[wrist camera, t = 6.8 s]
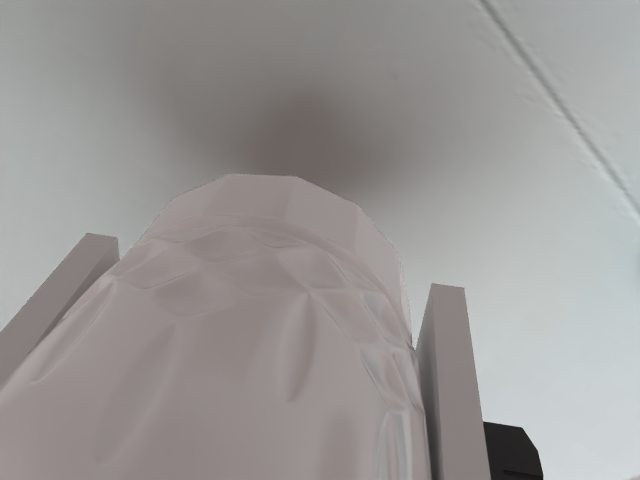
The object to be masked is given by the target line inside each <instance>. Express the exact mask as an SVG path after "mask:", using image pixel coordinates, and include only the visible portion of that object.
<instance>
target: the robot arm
mask: <svg viewBox="0 0 640 480" xmlns="http://www.w3.org/2000/svg"><path fill="white" fill-rule="evenodd" d="M119 261H120V257H119V248H118V239H117V237H112V236H105V235H98V234H91V233H86V235H85V236H84V237H83V238H82V239H81V240H80V242H79V243H78V244H77V245H76V246H75V247H74V248H73V250H72V251H71V252H70V253H69V254H68V255H67V256H66V258H65V259H64V260H63V261H62V262H61V263H60V265H59V266H58V267H57V268H56V269H55V270H54V271H53V273H52V274H51V275H50V276H49V277H48V278H47V280H46V281H45V282H44V283H43V284H42V285H41V286H40V288H39V289H38V290H37V291H36V292H35V293H34V295H33V296H32V297H31V298H30V299H29V300H28V301H27V303H26V304H25V305H24V306H23V307H22V308H21V309H20V311H19V312H18V313H17V314H16V315H15V316H14V318H13V319H12V320H11V321H10V322H9V323H8V324H7V326H6V327H5V328H4V329H3V330H2V331H1V333H0V386H1V385H2V383H3V382H4V381H5V380H6V379H7V377H8V376H9V375H10V374H11V373H12V372H13V371H14V369H15V368H16V367H17V366H18V365H19V364H20V363H21V362H22V361H23V360H24V359H25V357H26V356H27V355H28V354H29V353H30V352H31V351H32V350H33V349H34V348H35V347H36V346H37V345H38V344H39V343H40V342H41V341H42V340H43V339H44V338H45V337H46V336H47V335H48V334H49V333H50V332H51V331H52V330H53V328H54V327H55V326H56V324H57V323H58V322H59V321H60V319H61V318H62V317H63V316H64V315H65V314H66V313H67V311H68V310H69V309H70V308H71V307H72V306H73V305H74V304H75V303H76V301H77V300H78V299H79V298H80V297H81V296H82V295H83V294H84V293H85V292H86V291H87V290H88V289H89V288H90V287H91V286H92V285H93V284H94V283H95V282H96V280H97V279H98V277H99V276H100V275H101V274H104V273H105V272H106V271H108V270H109V269H110V268H111V267H113V266H114V265H115V264H116V263H117V262H119ZM415 351H416V354H417V356H418V362H419V370H420V379H421V391H422V402H423V406H424V410H425V416H426V426H427V434H428V442H429V451H430V461H431V471H432V480H543V472H542V467H541V463H540V459H539V454H538V451H537V449H536V448H535V446H534V445H533V443H532V442H531V440H530V439H529V437H528V436H527V434H526V433H525V431H524V430H523V428H521V427H515V426H509V425H502V424H496V423H490V422H483V419H482V412H481V405H480V398H479V391H478V384H477V377H476V370H475V362H474V355H473V348H472V341H471V334H470V327H469V320H468V313H467V306H466V298H465V291H464V288H462V287H455V286H448V285H441V284H434V283H432V284H431V288H430V292H429V296H428V301H427V305H426V309H425V313H424V317H423V321H422V326H421V330H420V334H419V338H418V342H417V346H416V350H415Z"/></svg>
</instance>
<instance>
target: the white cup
mask: <svg viewBox="0 0 640 480" xmlns="http://www.w3.org/2000/svg"><path fill="white" fill-rule="evenodd" d="M0 480H432V471H431V461H430V451H429V442H428V434H427V426H426V416H425V410H424V406H423V402H422V391H421V379H420V370H419V362H418V356H417V354H416V351H415V350H414V348H413V346H412V332H411V317H410V306H409V300H408V295H407V291H406V286H405V281H404V276H403V271H402V267H401V262H400V257H399V253H398V251H397V250H396V249H395V248H394V247H393V245H392V244H391V243H390V242H389V241H388V240H387V238H386V237H385V236H384V235H383V234H382V233H381V231H380V230H379V229H378V228H377V227H376V225H375V224H374V223H373V222H372V221H371V220H370V218H369V217H368V216H367V215H366V214H365V213H364V211H363V210H362V209H361V208H360V207H359V206H358V205H357V204H355V203H353V202H351V201H348V200H346V199H344V198H342V197H340V196H338V195H336V194H334V193H331V192H329V191H327V190H325V189H323V188H321V187H319V186H317V185H314V184H312V183H310V182H308V181H306V180H304V179H302V178H300V177H297V176H280V175H256V174H227V175H225V176H222V177H220V178H218V179H215V180H213V181H211V182H209V183H206V184H204V185H202V186H199V187H197V188H195V189H192V190H190V191H187V192H185V193H183V194H180V195H178V196H176V197H174V198H173V199H172V200H171V201H170V202H169V203H168V204H167V206H166V207H165V208H164V209H163V210H162V212H161V213H160V214H159V215H158V217H157V218H156V219H155V220H154V222H153V223H152V224H151V225H150V227H149V228H148V229H147V230H146V232H145V233H144V234H143V235H142V237H141V238H140V239H139V240H138V241H137V243H136V244H135V245H134V246H133V247H132V248H131V249H130V250H129V251H128V252H127V253H126V254H125V256H124V257H123V258H122V259H121V260H120V261H119V262H117V263H116V264H115V265H114V266H113V267H111V268H110V269H109V270H108V271H106V272H105V273H104V274H101V275H100V276H99V277H98V279H97V280H96V282H95V283H94V284H93V285H92V286H91V287H90V288H89V289H88V290H87V291H86V292H85V293H84V294H83V295H82V296H81V297H80V298H79V299H78V300H77V301H76V303H75V304H74V305H73V306H72V307H71V308H70V309H69V310H68V311H67V313H66V314H65V315H64V316H63V317H62V318H61V319H60V321H59V322H58V323H57V324H56V326H55V327H54V328H53V330H52V331H51V332H50V333H49V334H48V335H47V336H46V337H45V338H44V339H43V340H42V341H41V342H40V343H39V344H38V345H37V346H36V347H35V348H34V349H33V350H32V351H31V352H30V353H29V354H28V355H27V356H26V357H25V359H24V360H23V361H22V362H21V363H20V364H19V365H18V366H17V367H16V368H15V369H14V371H13V372H12V373H11V374H10V375H9V376H8V377H7V379H6V380H5V381H4V382H3V383H2V385H1V386H0Z"/></svg>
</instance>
